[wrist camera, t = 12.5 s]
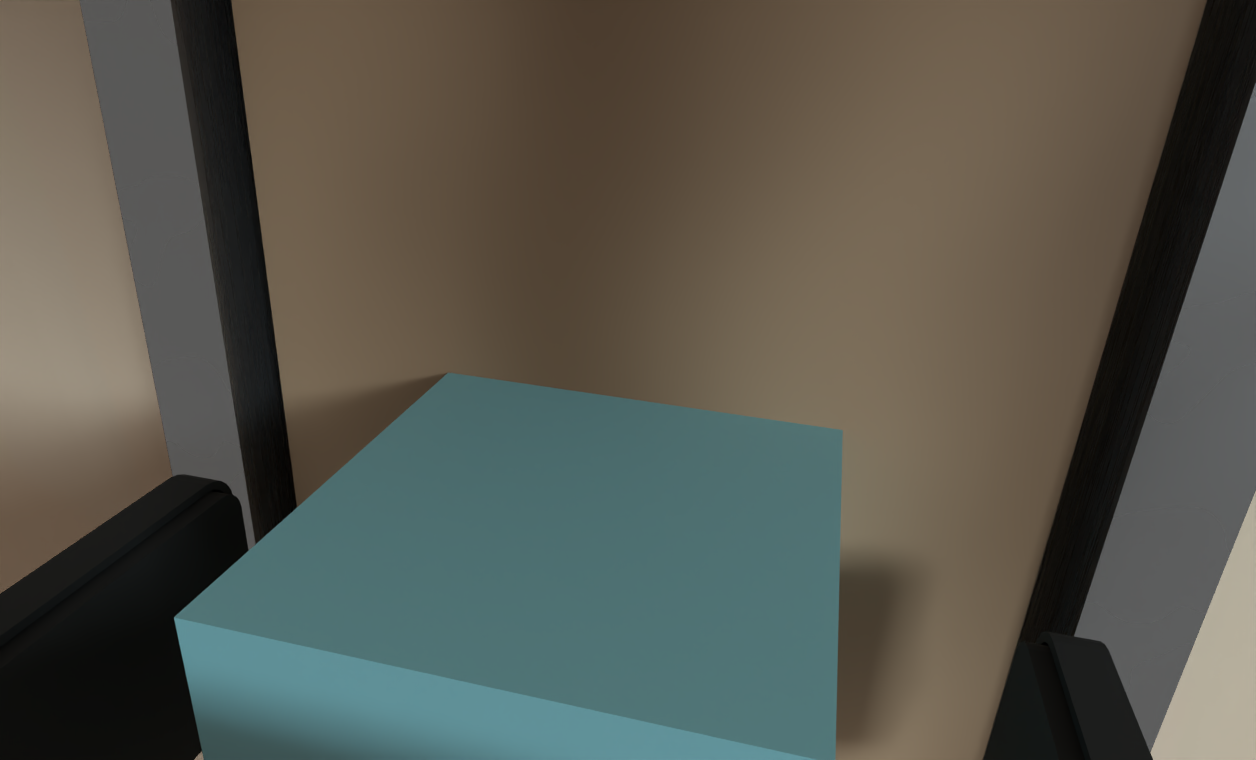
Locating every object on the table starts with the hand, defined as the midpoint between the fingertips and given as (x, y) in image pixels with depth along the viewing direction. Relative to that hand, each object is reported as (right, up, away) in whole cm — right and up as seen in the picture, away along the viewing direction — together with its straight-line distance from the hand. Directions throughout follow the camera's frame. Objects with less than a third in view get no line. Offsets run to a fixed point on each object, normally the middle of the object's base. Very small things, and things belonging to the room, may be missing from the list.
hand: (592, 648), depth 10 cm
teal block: (0, +1, +1) cm, 2 cm away
